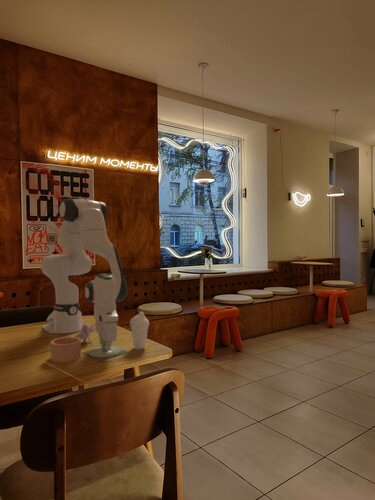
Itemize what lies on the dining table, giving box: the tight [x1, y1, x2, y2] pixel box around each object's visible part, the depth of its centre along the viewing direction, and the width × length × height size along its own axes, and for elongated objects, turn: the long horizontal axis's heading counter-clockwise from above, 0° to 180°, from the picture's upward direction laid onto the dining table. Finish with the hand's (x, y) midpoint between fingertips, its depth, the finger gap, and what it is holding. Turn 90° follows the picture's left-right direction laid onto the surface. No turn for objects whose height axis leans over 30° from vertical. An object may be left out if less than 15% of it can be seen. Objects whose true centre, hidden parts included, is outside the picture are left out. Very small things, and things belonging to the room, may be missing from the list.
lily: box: [74, 323, 96, 345], centre depth 158 cm, size 12×12×10 cm
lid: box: [88, 339, 122, 358], centre depth 146 cm, size 13×13×5 cm
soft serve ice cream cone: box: [129, 311, 150, 350], centre depth 153 cm, size 8×8×16 cm
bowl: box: [50, 336, 82, 364], centre depth 140 cm, size 11×11×7 cm
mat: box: [81, 349, 130, 362], centre depth 146 cm, size 14×14×1 cm
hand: (105, 347), depth 146 cm, fingers open, 8 cm apart
